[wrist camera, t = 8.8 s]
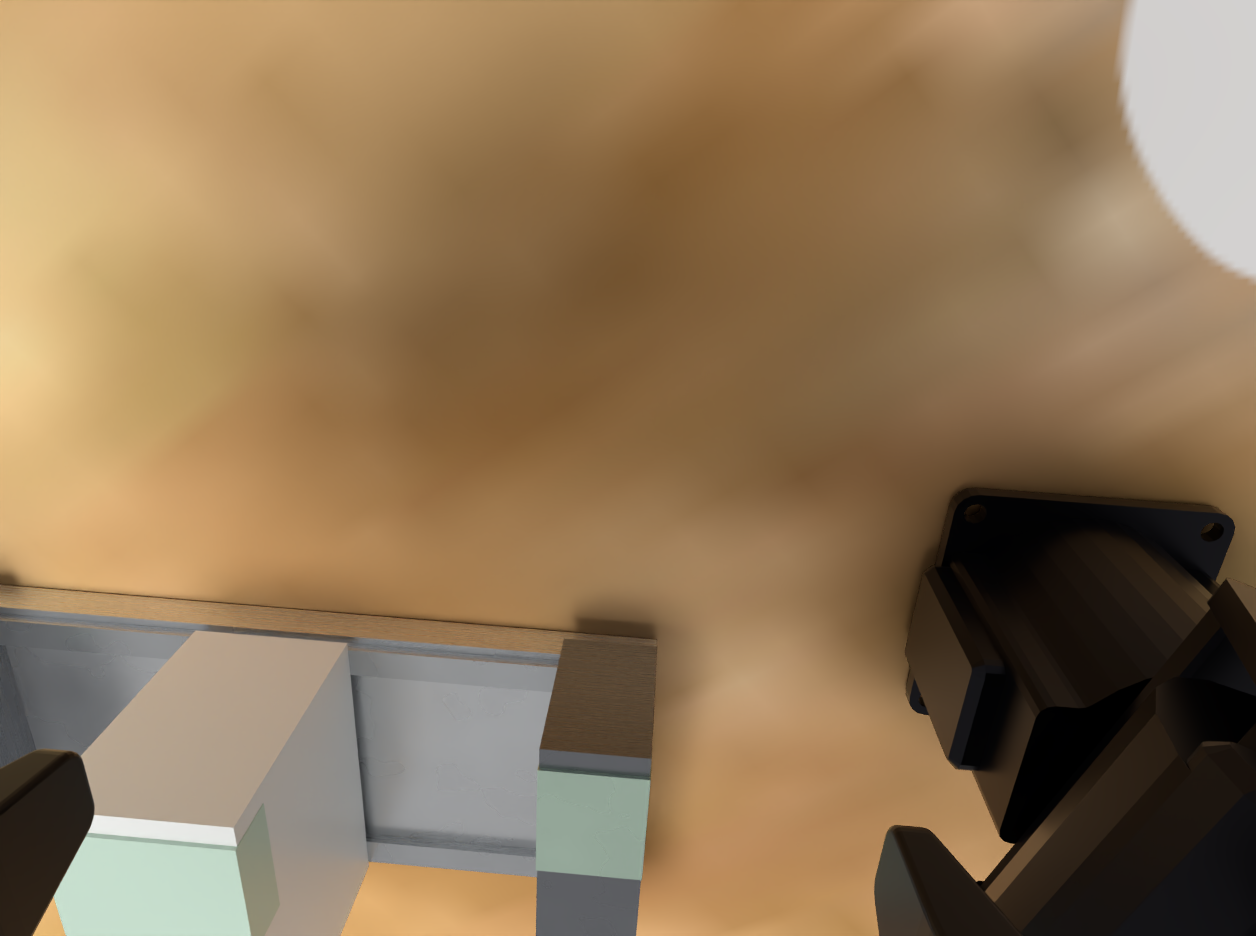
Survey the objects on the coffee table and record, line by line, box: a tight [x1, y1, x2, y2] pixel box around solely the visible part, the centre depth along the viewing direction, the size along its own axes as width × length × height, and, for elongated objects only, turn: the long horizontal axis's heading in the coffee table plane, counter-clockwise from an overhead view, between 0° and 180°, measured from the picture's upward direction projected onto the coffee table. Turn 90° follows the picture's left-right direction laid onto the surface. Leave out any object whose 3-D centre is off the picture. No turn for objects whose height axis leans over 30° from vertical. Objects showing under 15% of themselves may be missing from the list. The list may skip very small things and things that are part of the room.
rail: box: [0, 585, 657, 936], centre depth 22 cm, size 20×9×5 cm, turn 87°
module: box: [54, 630, 369, 936], centre depth 21 cm, size 4×8×6 cm, turn 177°
